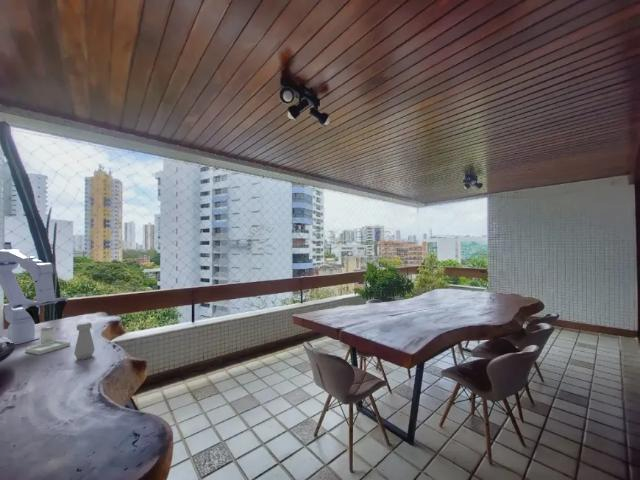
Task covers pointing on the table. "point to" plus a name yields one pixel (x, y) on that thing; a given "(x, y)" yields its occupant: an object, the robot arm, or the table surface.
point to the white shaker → (47, 334)
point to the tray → (47, 347)
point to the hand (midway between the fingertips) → (48, 320)
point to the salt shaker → (84, 342)
